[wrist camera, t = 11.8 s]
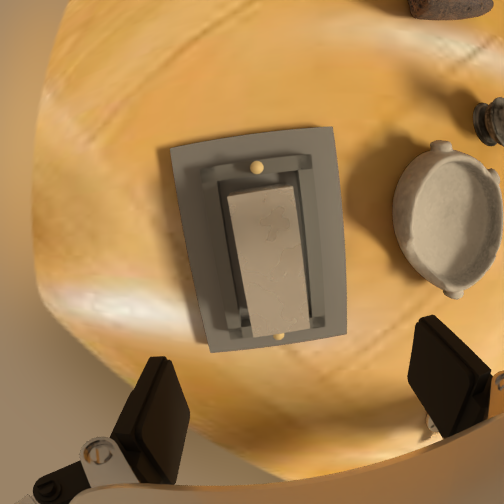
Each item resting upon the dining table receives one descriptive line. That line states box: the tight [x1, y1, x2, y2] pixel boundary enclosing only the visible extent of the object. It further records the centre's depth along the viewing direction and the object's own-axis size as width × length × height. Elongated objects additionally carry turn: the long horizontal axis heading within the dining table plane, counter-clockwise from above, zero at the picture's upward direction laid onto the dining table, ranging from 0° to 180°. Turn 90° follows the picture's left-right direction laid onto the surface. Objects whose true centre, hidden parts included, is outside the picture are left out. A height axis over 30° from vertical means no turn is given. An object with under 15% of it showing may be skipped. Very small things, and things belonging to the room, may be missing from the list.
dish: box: [392, 140, 503, 299], centre depth 25 cm, size 14×14×5 cm
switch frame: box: [170, 127, 347, 353], centre depth 26 cm, size 20×14×4 cm
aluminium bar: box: [227, 183, 310, 337], centre depth 24 cm, size 4×11×5 cm, turn 9°
